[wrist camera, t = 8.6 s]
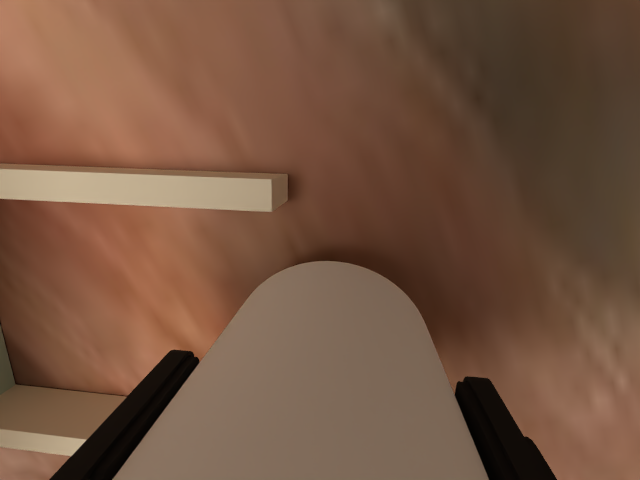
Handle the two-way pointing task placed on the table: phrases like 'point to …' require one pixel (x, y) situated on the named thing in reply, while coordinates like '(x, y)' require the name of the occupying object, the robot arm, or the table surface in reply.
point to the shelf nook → (106, 188)
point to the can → (314, 391)
